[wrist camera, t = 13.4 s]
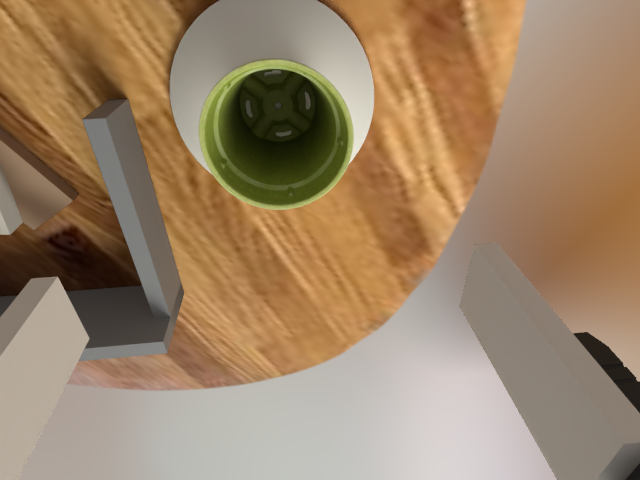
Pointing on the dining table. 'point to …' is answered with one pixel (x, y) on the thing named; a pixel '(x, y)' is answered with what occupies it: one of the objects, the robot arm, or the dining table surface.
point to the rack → (143, 242)
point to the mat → (268, 57)
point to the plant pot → (264, 145)
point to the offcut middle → (7, 208)
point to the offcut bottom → (32, 183)
